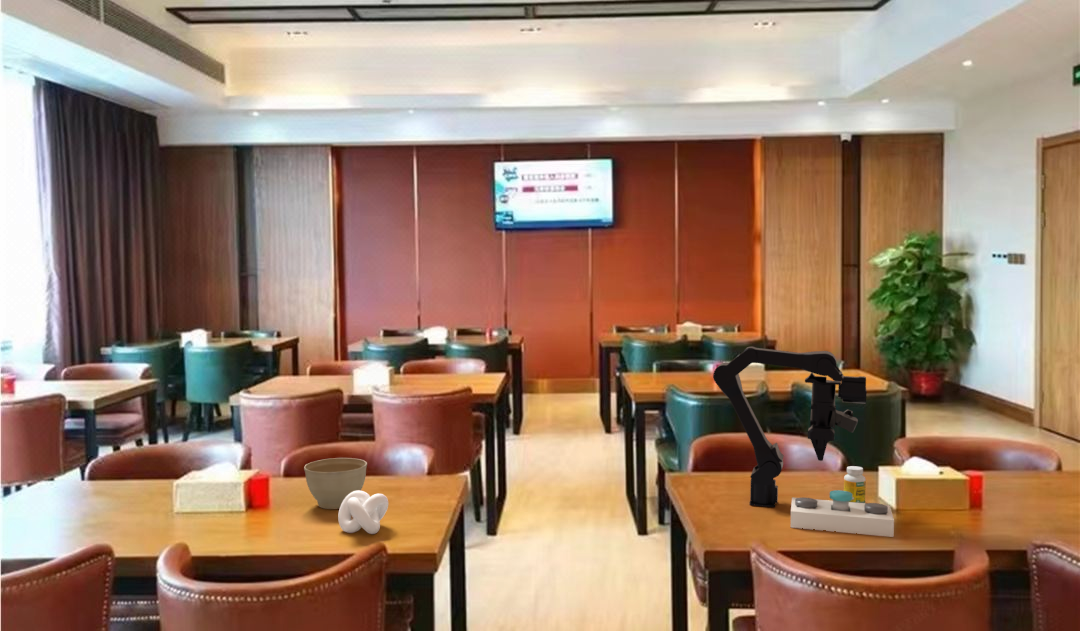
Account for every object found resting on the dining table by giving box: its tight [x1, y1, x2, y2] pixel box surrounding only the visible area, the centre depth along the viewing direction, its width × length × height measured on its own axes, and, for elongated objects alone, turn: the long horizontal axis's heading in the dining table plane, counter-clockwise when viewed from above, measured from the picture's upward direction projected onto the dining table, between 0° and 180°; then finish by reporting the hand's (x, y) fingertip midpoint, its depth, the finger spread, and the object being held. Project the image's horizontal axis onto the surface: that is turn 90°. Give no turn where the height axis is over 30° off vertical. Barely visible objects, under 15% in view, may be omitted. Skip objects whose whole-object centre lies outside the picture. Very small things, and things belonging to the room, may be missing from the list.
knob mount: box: [790, 496, 895, 538], centre depth 203 cm, size 23×12×4 cm, turn 72°
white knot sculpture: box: [337, 490, 389, 535], centre depth 200 cm, size 11×12×9 cm
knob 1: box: [795, 497, 817, 509], centre depth 206 cm, size 5×5×5 cm
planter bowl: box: [303, 457, 368, 510], centre depth 222 cm, size 16×16×11 cm
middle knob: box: [829, 489, 852, 511], centre depth 203 cm, size 5×5×5 cm
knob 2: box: [864, 502, 888, 515], centre depth 201 cm, size 5×5×5 cm
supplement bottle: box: [843, 465, 867, 503], centre depth 220 cm, size 5×5×10 cm
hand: (820, 460), depth 215 cm, fingers closed
